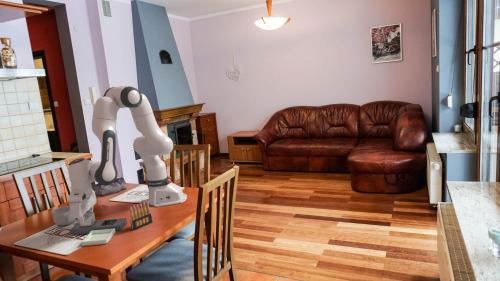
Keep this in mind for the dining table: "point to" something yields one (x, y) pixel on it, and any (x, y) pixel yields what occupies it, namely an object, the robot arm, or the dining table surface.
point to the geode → (110, 187)
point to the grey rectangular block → (88, 220)
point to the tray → (98, 237)
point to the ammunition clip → (140, 216)
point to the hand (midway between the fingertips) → (86, 219)
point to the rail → (100, 226)
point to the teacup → (62, 216)
